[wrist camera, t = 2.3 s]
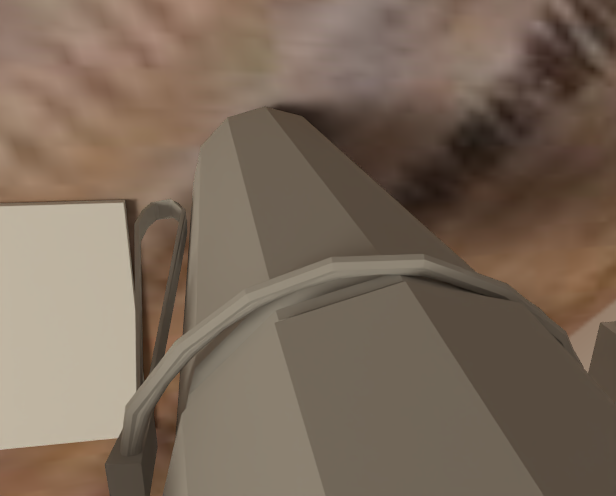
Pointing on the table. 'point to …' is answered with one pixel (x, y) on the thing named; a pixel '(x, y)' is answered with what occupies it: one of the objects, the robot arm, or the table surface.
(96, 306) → the felt mat
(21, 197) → the table surface
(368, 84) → the table surface
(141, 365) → the water bottle
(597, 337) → the robot arm
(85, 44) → the table surface
